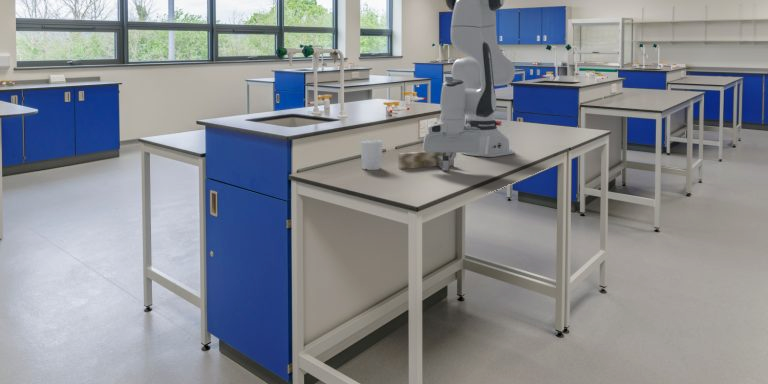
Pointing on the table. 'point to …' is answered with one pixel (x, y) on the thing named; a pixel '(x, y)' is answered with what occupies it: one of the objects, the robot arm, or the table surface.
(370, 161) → the white cup
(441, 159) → the crank handle
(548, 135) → the table surface
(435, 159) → the wooden l-bracket
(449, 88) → the robot arm
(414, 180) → the table surface
